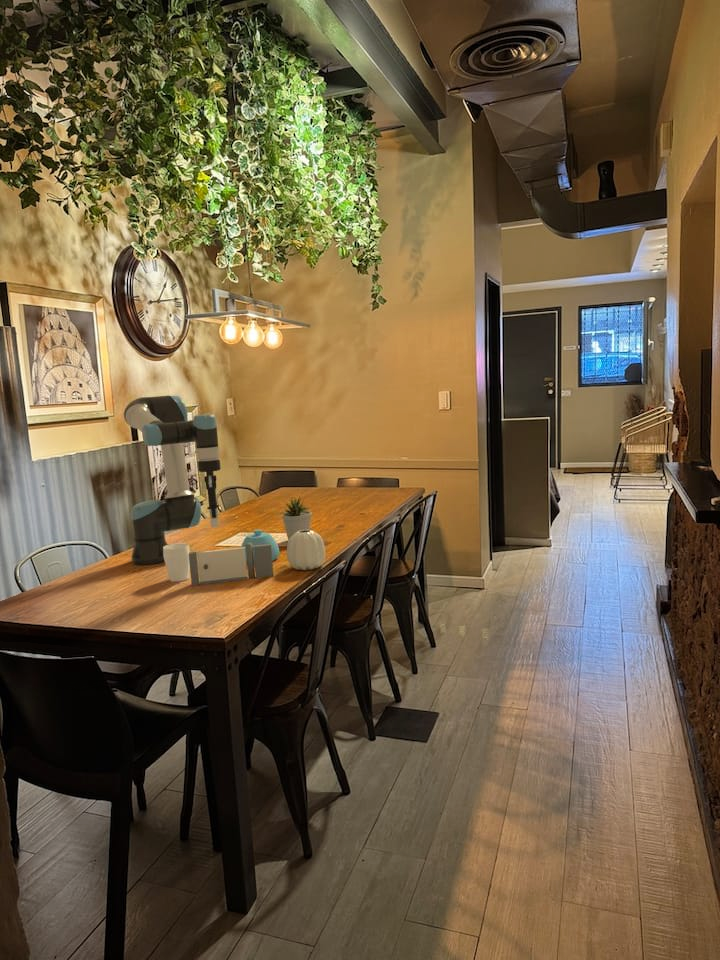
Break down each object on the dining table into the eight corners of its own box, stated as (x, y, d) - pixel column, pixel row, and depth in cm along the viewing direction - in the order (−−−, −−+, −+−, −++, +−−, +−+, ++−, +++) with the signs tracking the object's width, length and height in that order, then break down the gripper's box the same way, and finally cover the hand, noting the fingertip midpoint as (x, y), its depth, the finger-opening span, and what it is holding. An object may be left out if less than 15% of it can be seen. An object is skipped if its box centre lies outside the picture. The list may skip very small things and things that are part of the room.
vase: (280, 568, 232) (277, 532, 230) (312, 560, 241) (309, 525, 239) (302, 575, 222) (299, 537, 220) (334, 566, 230) (331, 529, 228)
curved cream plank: (247, 575, 223) (244, 547, 221) (247, 577, 220) (244, 548, 219) (199, 580, 220) (197, 552, 218) (199, 582, 217) (196, 553, 216)
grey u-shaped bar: (192, 583, 220) (188, 549, 219) (273, 574, 225) (270, 540, 224) (191, 585, 217) (188, 551, 216) (273, 576, 223) (270, 542, 221)
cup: (172, 584, 220) (168, 550, 219) (162, 579, 227) (158, 546, 226) (196, 578, 226) (193, 545, 224) (185, 573, 233) (182, 541, 231)
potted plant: (275, 541, 274) (271, 495, 272) (301, 535, 283) (298, 490, 281) (293, 545, 265) (289, 498, 262) (319, 539, 274) (316, 492, 271)
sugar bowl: (287, 556, 249) (285, 527, 247) (261, 566, 236) (258, 536, 235) (259, 553, 257) (256, 524, 255) (232, 562, 245) (229, 533, 243)
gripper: (198, 458, 227) (204, 524, 230) (196, 462, 214) (203, 531, 218) (219, 457, 229) (226, 522, 232) (219, 460, 216) (226, 529, 219)
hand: (215, 526), depth 225 cm, fingers closed
